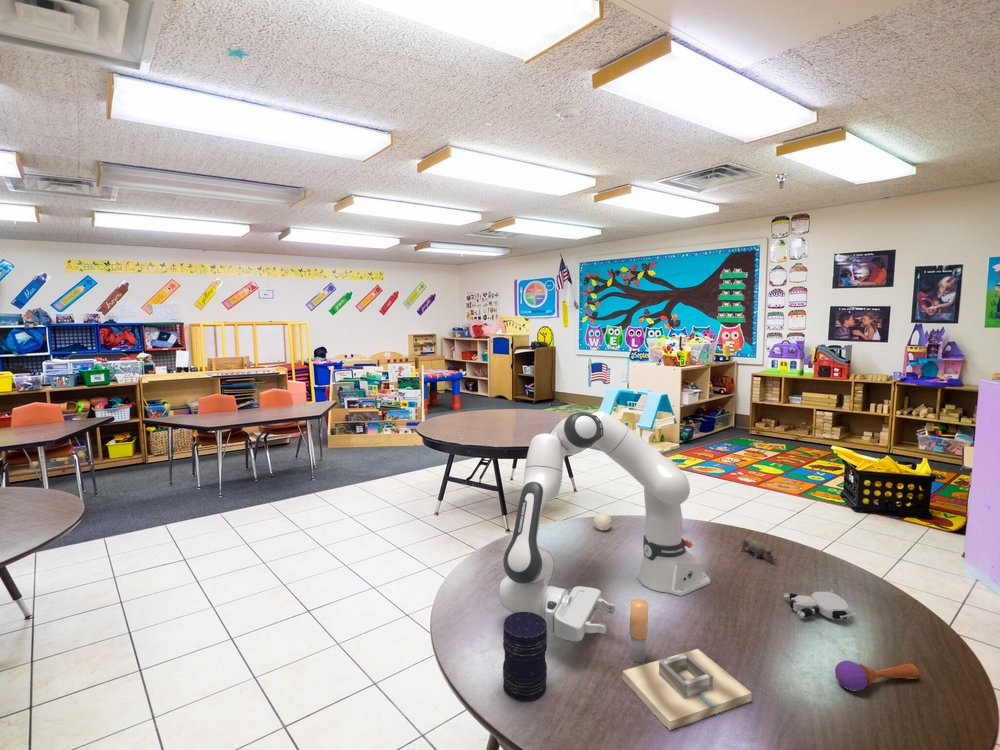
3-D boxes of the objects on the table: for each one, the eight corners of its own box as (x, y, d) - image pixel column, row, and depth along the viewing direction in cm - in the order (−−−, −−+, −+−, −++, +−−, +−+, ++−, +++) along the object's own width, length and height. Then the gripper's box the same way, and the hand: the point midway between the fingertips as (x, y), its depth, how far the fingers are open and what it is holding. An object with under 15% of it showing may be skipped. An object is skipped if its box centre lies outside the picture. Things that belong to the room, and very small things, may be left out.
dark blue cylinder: (514, 708, 107) (514, 642, 106) (495, 678, 116) (496, 617, 115) (554, 694, 111) (555, 630, 110) (534, 667, 120) (534, 607, 119)
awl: (639, 650, 126) (641, 597, 125) (650, 660, 123) (652, 606, 121) (625, 654, 125) (627, 600, 123) (635, 664, 121) (637, 609, 120)
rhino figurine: (771, 568, 170) (772, 551, 169) (738, 551, 183) (739, 535, 182) (780, 565, 171) (781, 549, 171) (747, 549, 184) (747, 533, 183)
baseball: (598, 524, 206) (598, 508, 206) (614, 529, 202) (614, 513, 201) (589, 529, 201) (590, 513, 200) (606, 534, 196) (606, 518, 196)
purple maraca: (929, 671, 113) (855, 677, 109) (920, 692, 115) (846, 698, 111) (904, 650, 119) (833, 655, 115) (896, 670, 121) (825, 676, 116)
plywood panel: (697, 656, 124) (698, 637, 124) (751, 701, 109) (752, 679, 109) (622, 678, 116) (622, 658, 116) (669, 730, 101) (670, 707, 101)
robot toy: (799, 626, 138) (858, 627, 136) (799, 610, 138) (858, 611, 136) (780, 602, 150) (835, 602, 148) (780, 587, 150) (835, 588, 148)
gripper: (569, 598, 141) (619, 610, 135) (543, 638, 122) (599, 654, 116) (569, 576, 140) (619, 587, 134) (543, 613, 122) (600, 628, 116)
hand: (610, 618), depth 125 cm, fingers open, 8 cm apart
